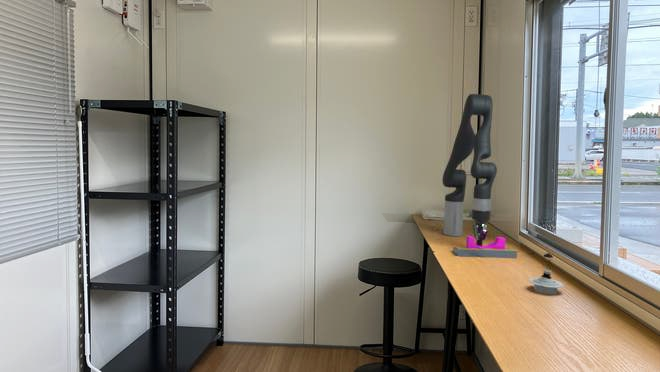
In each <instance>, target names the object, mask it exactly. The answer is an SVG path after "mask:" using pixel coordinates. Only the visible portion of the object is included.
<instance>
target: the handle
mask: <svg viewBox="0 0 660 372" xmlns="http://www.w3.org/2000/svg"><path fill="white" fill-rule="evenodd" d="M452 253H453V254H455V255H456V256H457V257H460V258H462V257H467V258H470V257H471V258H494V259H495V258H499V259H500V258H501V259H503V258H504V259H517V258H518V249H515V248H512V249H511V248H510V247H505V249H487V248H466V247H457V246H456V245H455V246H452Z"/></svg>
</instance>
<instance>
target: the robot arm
mask: <svg viewBox="0 0 660 372" xmlns="http://www.w3.org/2000/svg"><path fill="white" fill-rule="evenodd" d="M473 116H482V118H483V119H482V123H481V125H480V127H479V129H478V130H477V132H476V133H475V131H474V128H473V127H472V123H471V122H472V121H471V119H472V117H473ZM492 116H493V99H492V97H491V95H489V94H479V93H478V94H477V93H470V94H468V96H467V97H466V100H465V103H464V106H463V112H462V117H461V121H460V124H459V127H458V131H457V134H456V137H455V140H454V143H453V146H452V150H451V154H450V157H449V159H448V160H447V161H448V162H447V164H446V167H445V169H444V172H443V174H442V185H443V186H444V187H445V188H455V190H453V191H452V192H450V193H447V194H445V196H444V209H443V210H444V213H443V229H442V231H443V233H442V234H443V235H445V236H451V237H460V236H462V235H463V223H464V204H465V203H464V202H465V196H466V187H467V186H466V185H467V173H466V170H464V169H461V168H460V169H459V168H458V167H459V165H461V164H462V163H463V162H464V161H465V160H466V159H467V158H468V157H470V155H471V154H472V153H473V157H472V158H473V159H472V163H471V166H470V175H471V176H472V178H474V179H479V180H480V179H481V180H482V179H483V180H485V181H484V182H481V183H478V184H475V185H474V186H473V199H472V206H471V219H472V220H474V221H475V223H474V224H473V225H472V228H473V234H474V238H475V243H476V245H478V246H483V241H485V240H486V238H487V234H488V231H489V230H488V229H487V223H486V222H489V221H490V220H491V212H492V210H491V209H492V208H491V207H492V204H491V203H492V202H491V198H492V196H491V195H492V187H493V184H494V181H495V178H496V175H497V172H498V167H497V165H496V163H494V162H485V161H481V160H486V159H489V158H490V157H491V156H492V147H491V130H492V129H491V128H492V119H493V117H492ZM457 168H458V169H457Z"/></svg>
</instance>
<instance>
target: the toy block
mask: <svg viewBox="0 0 660 372" xmlns="http://www.w3.org/2000/svg"><path fill="white" fill-rule="evenodd" d="M465 241H466V242H465V243H466V244H465V248H487V249H506V241H507V240H506V238H505V237H503V236H496V237H495V239H494V241H493V242H489V243H488V244H486V245H482V246H478V245H476V240H475V237H473V236H471V235H466V238H465Z"/></svg>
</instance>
